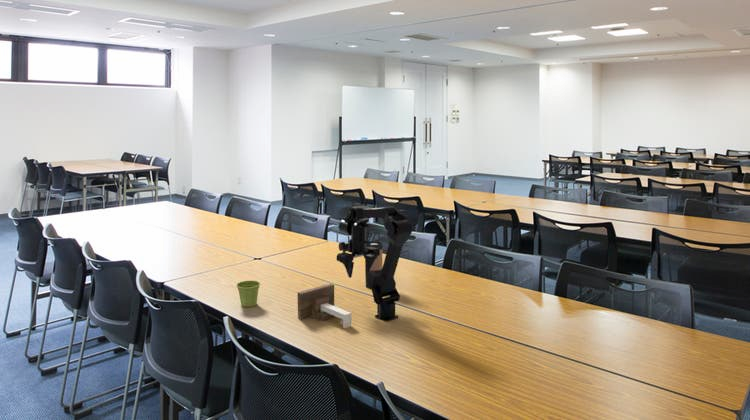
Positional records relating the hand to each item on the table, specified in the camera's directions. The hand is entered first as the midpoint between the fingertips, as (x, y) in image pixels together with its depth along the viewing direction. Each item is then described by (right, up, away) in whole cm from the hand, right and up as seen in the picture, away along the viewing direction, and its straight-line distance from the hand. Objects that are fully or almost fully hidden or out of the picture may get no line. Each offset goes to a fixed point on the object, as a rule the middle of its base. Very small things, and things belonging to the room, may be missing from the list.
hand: (358, 275), depth 208 cm
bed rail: (-8, -15, -17) cm, 24 cm away
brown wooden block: (-14, -14, -11) cm, 22 cm away
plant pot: (-44, -12, 0) cm, 46 cm away
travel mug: (+6, -8, +24) cm, 26 cm away
